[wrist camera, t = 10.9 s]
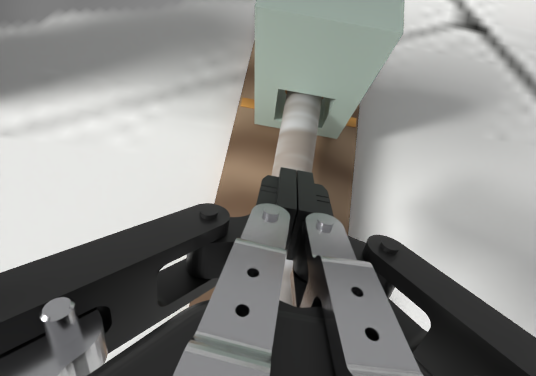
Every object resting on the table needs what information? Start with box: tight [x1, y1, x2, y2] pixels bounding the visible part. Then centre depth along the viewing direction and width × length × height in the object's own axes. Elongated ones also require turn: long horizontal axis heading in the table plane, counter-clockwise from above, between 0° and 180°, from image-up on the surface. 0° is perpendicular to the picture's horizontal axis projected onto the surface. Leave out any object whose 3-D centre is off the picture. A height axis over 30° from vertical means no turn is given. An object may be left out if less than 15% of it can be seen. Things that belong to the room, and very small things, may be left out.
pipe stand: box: [189, 40, 360, 307], centre depth 24 cm, size 34×12×7 cm, turn 170°
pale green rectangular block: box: [254, 0, 404, 139], centre depth 21 cm, size 4×8×12 cm, turn 80°
